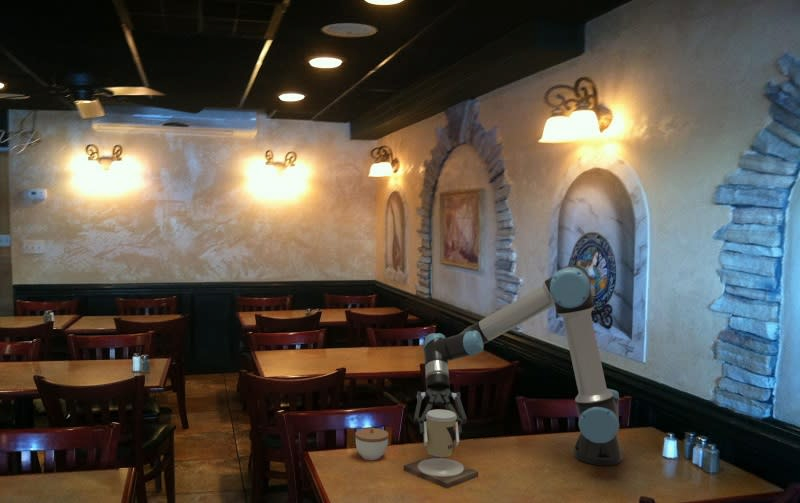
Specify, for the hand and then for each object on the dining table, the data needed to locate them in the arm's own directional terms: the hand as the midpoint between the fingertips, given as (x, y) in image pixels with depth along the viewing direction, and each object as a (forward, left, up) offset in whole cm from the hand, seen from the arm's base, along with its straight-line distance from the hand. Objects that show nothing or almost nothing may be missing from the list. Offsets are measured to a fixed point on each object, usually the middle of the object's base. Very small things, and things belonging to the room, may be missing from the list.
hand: (441, 443), depth 209 cm
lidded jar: (+26, +5, -10) cm, 29 cm away
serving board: (+2, -2, -10) cm, 11 cm away
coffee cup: (+3, -2, -4) cm, 5 cm away
